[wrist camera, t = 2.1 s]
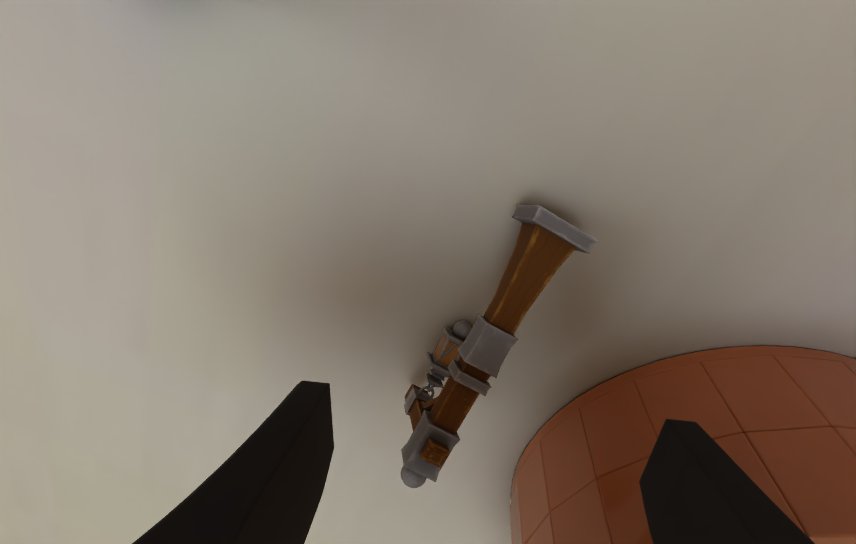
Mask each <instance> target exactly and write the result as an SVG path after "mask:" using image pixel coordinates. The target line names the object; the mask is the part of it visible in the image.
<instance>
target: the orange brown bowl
mask: <svg viewBox="0 0 856 544" xmlns="http://www.w3.org/2000/svg"><path fill="white" fill-rule="evenodd" d="M666 419H674V420H683V421H693V422H696V423H697V424H698V425H699V426H700V427H701V428H702V429H703V430H704V431H705V432H706V433H707V434H708V435H709V436H710V437H711V438H712V439H713V440H714V441H715V442H716V443H717V444H718V445H719V446H720V447H721V448H722V449H723V450H724V451H725V452H726V453H727V454H728V455H729V457H730V458H731V459H732V460H733V461H734V462H735V463H736V464H737V465H738V466H739V467H740V468H741V469H742V470H743V471H744V472H745V473H746V474H747V475H748V476H749V477H750V479H751V480H752V481H753V482H754V483H755V484H756V485H757V486H758V487H759V488H760V489H761V490H762V491H763V492H764V493H765V494H766V495H767V496H768V497H769V498H770V499H771V500H772V501H773V502H774V503H775V504H776V505H777V506H778V507H779V508H780V509H781V510H782V511H783V512H784V513H785V514H786V515H787V516H788V517H789V518H790V519H791V520H792V521H793V522H794V523H795V524H796V525H797V526H798V527H799V528H800V529H801V530H802V531H803V532H804V533H805V534H806V535H807V536H808V537H809V538H810V539H811V540H812V541H813V542H814V543H815V544H856V359H854V358H850V357H846V356H843V355H839V354H835V353H832V352H826V351H819V350H813V349H806V348H799V347H783V346H745V347H727V348H720V349H713V350H706V351H699V352H693V353H689V354H684V355H680V356H676V357H672V358H668V359H663V360H660V361H657V362H654V363H651V364H648V365H645V366H642V367H639V368H636V369H633V370H630V371H628V372H626V373H623V374H621V375H619V376H617V377H615V378H612V379H610V380H608V381H606V382H603V383H601V384H600V385H598V386H596V387H595V388H593V389H591V390H589V391H588V392H586V393H584V394H583V395H581V396H579V397H577V398H576V399H575V400H573V401H572V402H571V403H569V404H568V405H567V406H565V407H564V408H563V409H561V410H560V411H559V412H557V413H556V414H555V415H554V416H553V417H552V418H551V419H550V420H549V421H548V422H547V423H546V424H545V425H544V426H543V427H542V428H541V429H540V430H539V431H538V432H537V434H536V435H535V436H534V438H533V439H532V440H531V441H530V443H529V444H528V445H527V447H526V449H525V451H524V452H523V454H522V456H521V458H520V460H519V462H518V464H517V467H516V470H515V473H514V476H513V479H512V487H511V503H510V520H511V536H512V544H653V541H652V537H651V534H650V531H649V527H648V522H647V518H646V514H645V509H644V504H643V499H642V494H641V489H640V484H639V481H640V478H641V476H642V474H643V471H644V469H645V467H646V464H647V462H648V459H649V457H650V455H651V452H652V450H653V448H654V445H655V443H656V441H657V438H658V436H659V434H660V431H661V429H662V427H663V424H664V422H665V420H666Z"/></svg>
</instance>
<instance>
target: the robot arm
mask: <svg viewBox="0 0 856 544" xmlns="http://www.w3.org/2000/svg"><path fill="white" fill-rule="evenodd" d="M333 449H334V441H333V426H332V412H331V398H330V383H320V382H310V381H301V382H300V383H298V384H297V385H296V387H295V388H294V389H293V390H292V391H291V392H290V393H289V395H288V396H287V397H286V398H285V399H284V400H283V401H282V402H281V404H280V405H279V406H278V407H277V408H276V409H275V410H274V411H273V412H272V414H271V415H270V416H269V417H268V418H267V419H266V420H265V421H264V422H263V423H262V424H261V425H260V427H259V428H258V429H257V430H256V431H255V432H254V433H253V434H252V435H251V436H250V437H249V438H248V439H247V440H246V441H245V442H244V443H243V444H242V445H241V446H240V447H239V448H238V449H237V450H236V451H235V452H234V453H233V454H232V455H231V456H230V457H229V458H228V459H227V460H226V461H225V462H224V463H223V464H222V465H221V466H220V467H219V468H218V469H217V470H216V471H215V472H214V473H213V474H212V475H211V476H209V477H208V478H207V479H206V480H205V481H204V482H203V483H202V484H201V485H200V486H199V487H198V488H197V489H196V490H195V491H193V492H192V493H191V494H190V495H189V496H188V497H187V498H186V499H185V500H184V501H182V502H181V503H180V504H179V505H178V506H177V507H176V508H174V509H173V510H172V511H171V512H170V513H169V514H168V515H166V516H165V517H164V518H163V519H162V520H160V521H159V522H158V523H157V524H156V525H154V526H153V527H152V528H151V529H150V530H148V531H147V532H146V533H145V534H143V535H142V536H141V537H140V538H139V539H137V540H136V541H135V542H134V543H132V544H304V543H305V540H306V537H307V534H308V532H309V529H310V526H311V524H312V521H313V518H314V515H315V513H316V510H317V507H318V504H319V502H320V499H321V496H322V493H323V489H324V486H325V482H326V478H327V474H328V470H329V466H330V462H331V458H332V454H333ZM639 484H640V489H641V494H642V499H643V504H644V509H645V514H646V518H647V522H648V527H649V531H650V534H651V537H652V541H653V544H815V543H814V542H813V541H812V540H811V539H810V538H809V537H808V536H807V535H806V534H805V533H804V532H803V531H802V530H801V529H800V528H799V527H798V526H797V525H796V524H795V523H794V522H793V521H792V520H791V519H790V518H789V517H788V516H787V515H786V514H785V513H784V512H783V511H782V510H781V509H780V508H779V507H778V506H777V505H776V504H775V503H774V502H773V501H772V500H771V499H770V498H769V497H768V496H767V495H766V494H765V493H764V492H763V491H762V490H761V489H760V488H759V487H758V486H757V485H756V484H755V483H754V482H753V481H752V480H751V479H750V477H749V476H748V475H747V474H746V473H745V472H744V471H743V470H742V469H741V468H740V467H739V466H738V465H737V464H736V463H735V462H734V461H733V460H732V459H731V458H730V457H729V455H728V454H727V453H726V452H725V451H724V450H723V449H722V448H721V447H720V446H719V445H718V444H717V443H716V442H715V441H714V440H713V439H712V438H711V437H710V436H709V435H708V434H707V433H706V432H705V431H704V430H703V429H702V428H701V427H700V426H699V425H698V424H697V423H696V422H693V421H683V420H674V419H666V420H665V422H664V424H663V427H662V429H661V431H660V434H659V436H658V438H657V441H656V443H655V445H654V448H653V450H652V452H651V455H650V457H649V459H648V462H647V464H646V467H645V469H644V471H643V474H642V476H641V478H640V481H639Z"/></svg>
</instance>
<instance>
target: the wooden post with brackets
mask: <svg viewBox="0 0 856 544" xmlns="http://www.w3.org/2000/svg"><path fill="white" fill-rule="evenodd" d="M512 218H514V219H516V220H517V221H519V222H521V223H522V227H521V230H520V233H519V236H518V239H517V243H516V246H515V248H514V251H513V253H512V256H511V258H510V260H509V263H508V265H507V268H506V270H505V272H504V275H503V277H502V279H501V282H500V284H499V287H498V289H497V291H496V294H495V296H494V297H493V299H492V301H491V303H490V305H489V307H488V309H487V311H486V312H485V314H484V316H482V315H480V314H478V316H477V319H476V322H475V324H474V326H473V327H472V325H471V323H470V322H468V321H466V320H460V321H458V322H457V323H456V324H455V325H454V328H453V331H452V330H450V329H448V328H446V327H444V328H443V329H444V332H443V336H442V338H441V340H440V342H439V344H438V346H437V348H436V350H435V352H434V353H433V354H431V353H429V352H427V354H426V355H427V358H428V361H429V364H430V366H431V367H432V368H433V369H430V371H431V374H432V375H431V374H429V373H426V377H427V380H428V382H429V384H428V386H425V387H423V388H420V387H418V386H416V385H414V384H412V385H411V386H410V388H409V390H408V392H407V393H406V395H405V399H406V400H405V402H406V403H405V405H404V407H405V412H406V414H407V415H409V416H410V419H411V423H412V428H413V434H412V435H411V437H410V439H409V441H408V442H407V444H406V445H405V446H404V447H403V448H402V449H401V451H402V457H403V464H404V465H403V467H402V470H401V478H402V480H403V482H404V484H405V485H407V486H408V487H411V488H417V487H420V486H421V485H423V484H424V482H425V481H426V478H428V479H430V480H432V481H434V482H436V480H437V477H438V474H439V471H440V470H441V468H442V466H443V464H444V463H445V461H446V459H447V457H448V456H449V454H450V452H451V451H452V449H453V447H454V446H455V445H456V444H457V443H458V441H459V440H460V438H459V436H458V434H457V430H458V428H459V427H460V425H461V423H462V422H463V420H464V418H465V417H466V415H467V413H468V412H469V410H470V408H471V407H472V405H473V403H474V402H475V400H476V398H477V397H478V395H479V393H480V394H482V395H484V396H486V393H487V391H488V390H489V388H491V386H490V385H489V383H488V382H487V380H488V379H489V377H490V375H491V376H493V377H495V378H497V375H498V372H499V368H500V366H501V364H502V362H503V360H504V359H505V357H506V355H507V353H508V351H509V350H510V348H511V347H512V346H513V344H514V343H515V342H516V341H517V340H518V339H517V338H516V337H515V336H514V335H513V334H514V332H515V331H516V329H517V327H518V326H519V324H520V322H521V321H522V319H523V317H524V315H525V314H526V312H527V311H528V309H529V308H530V307H531V305H532V304H533V302H534V301H535V300H536V298H537V297H538V296H539V294H540V293H541V291H542V290H543V289H544V287H545V286H546V285H547V283H548V282H549V280H550V279H551V278H552V276H553V275H554V273H555V272H556V271H557V269H558V268H559V267H560V266H561V265H562V263H563V262H564V261H565V260H566V259H567V258H568V257H569V255H570V254H571V253H572V252H573V251H574V250H577V251H581V252H585V253H589V254H590V250H591V248H592V247H593V246H594V245H595V244H596V243H598V242H600V241H598V240H596V239H595V238H593V237H591V236H590V235H588V234H586V233H585V232H583V231H581V230H580V229H578V228H576V227H575V226H573V225H571V224H570V223H568V222H566V221H565V220H563V219H561V218H560V217H558V216H556V215H555V214H553V213H551V212H550V211H548V210H546V209H545V208H543V207H541V206H540V205H517V210H516V212H515V215H514V216H513V217H512ZM444 377H449V378H448V380H447V382H446V384H445V385H444V387H443V384H442V381H441V380H443V381H445V380H444ZM430 386H431V387H430ZM433 387H441V388H443V389H442V391H441V393H440V395H439V396H437V397H436V398H434V399H433V396H434V389H433ZM424 389H427V391H426V390H424ZM430 391H431V392H432V394H431V396H430V395H428V392H430Z"/></svg>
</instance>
